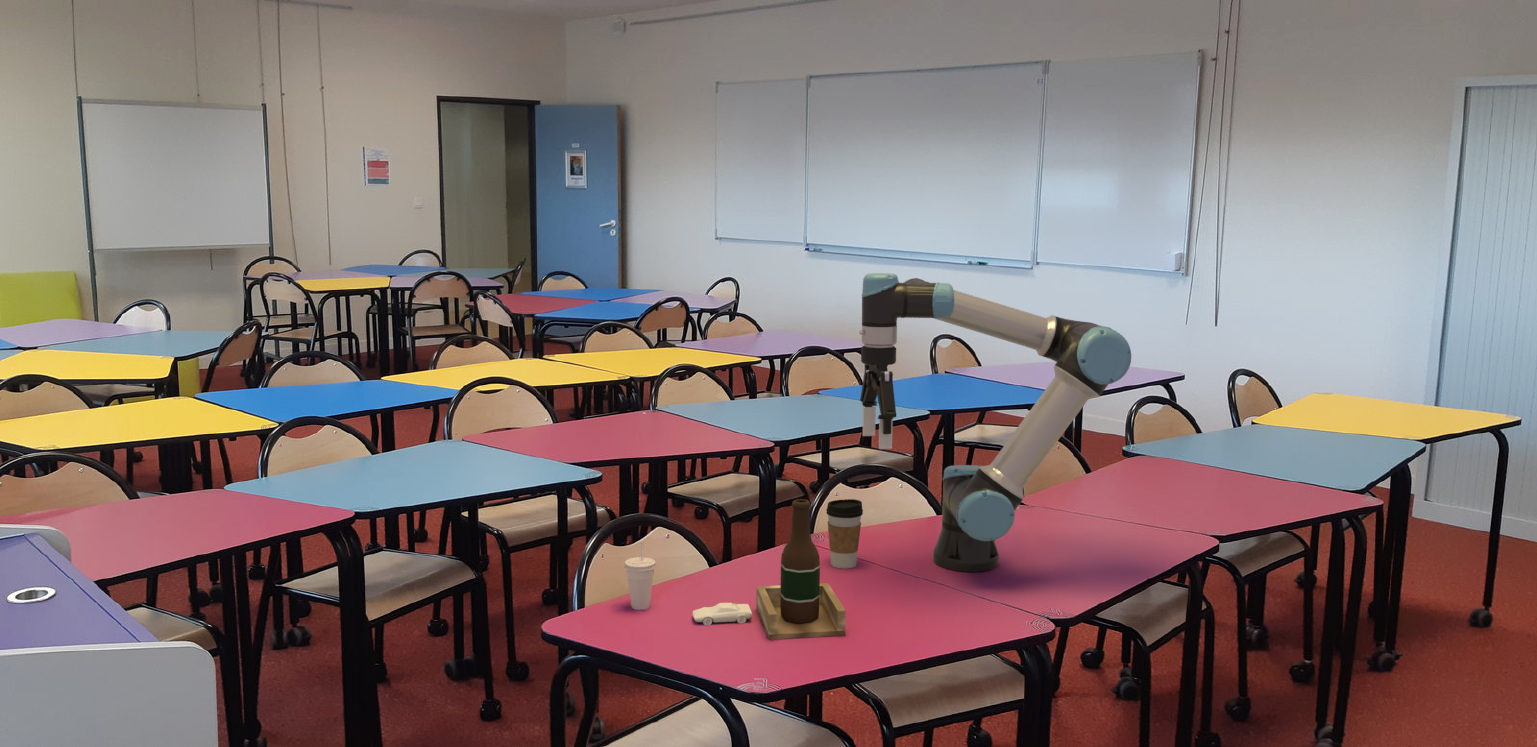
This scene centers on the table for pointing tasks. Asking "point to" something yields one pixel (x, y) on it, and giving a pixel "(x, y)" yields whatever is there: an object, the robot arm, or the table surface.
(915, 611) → the table surface
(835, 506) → the coffee cup
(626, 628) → the table surface
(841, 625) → the u rest
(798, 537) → the beer bottle
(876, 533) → the table surface
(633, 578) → the smoothie
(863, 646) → the table surface
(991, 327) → the robot arm
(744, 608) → the toy car
